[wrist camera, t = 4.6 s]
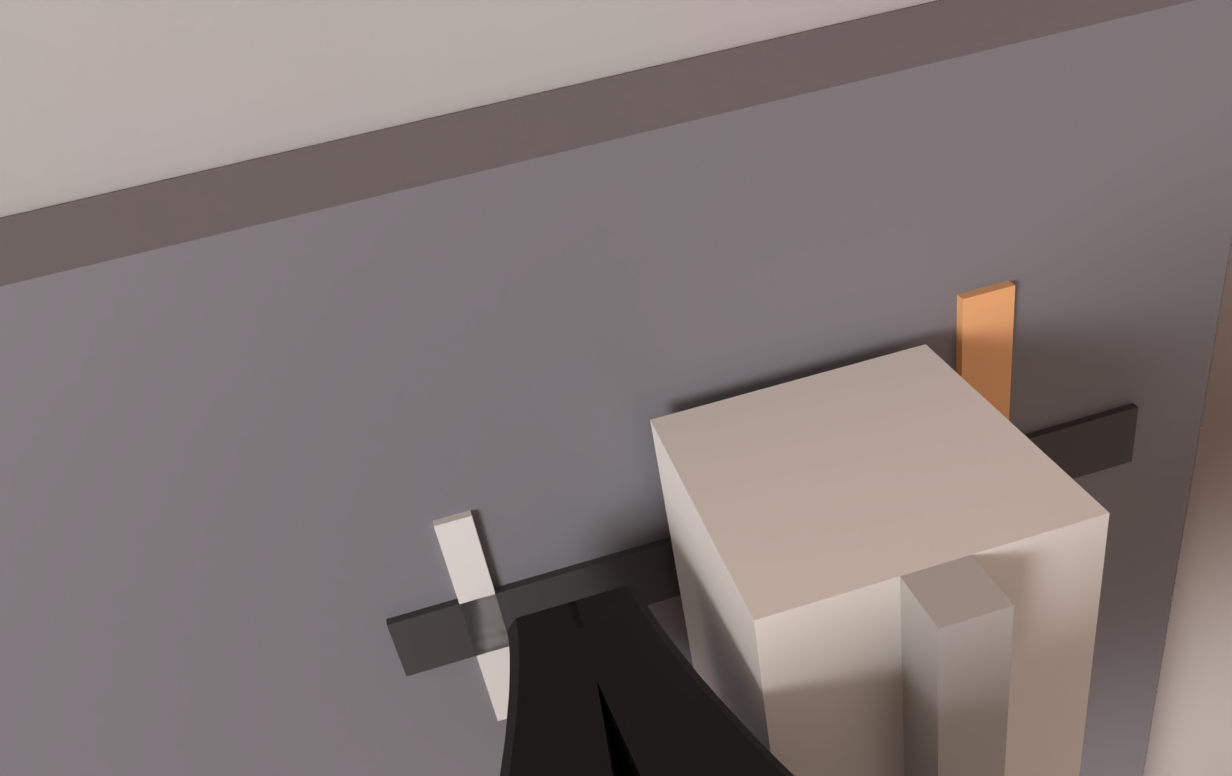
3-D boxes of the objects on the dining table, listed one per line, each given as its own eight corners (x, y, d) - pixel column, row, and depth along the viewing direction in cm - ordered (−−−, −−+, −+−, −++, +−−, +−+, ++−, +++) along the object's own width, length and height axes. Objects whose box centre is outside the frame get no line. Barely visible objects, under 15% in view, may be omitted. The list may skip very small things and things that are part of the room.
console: (107, 1148, 18) (83, 1297, 16) (-619, 361, 10) (-834, 493, 8) (1052, 826, 20) (1123, 927, 18) (1137, -46, 12) (1282, -17, 10)
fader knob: (701, 713, 13) (819, 1002, 10) (649, 419, 10) (783, 677, 7) (927, 643, 13) (1108, 901, 10) (925, 344, 11) (1160, 559, 8)
